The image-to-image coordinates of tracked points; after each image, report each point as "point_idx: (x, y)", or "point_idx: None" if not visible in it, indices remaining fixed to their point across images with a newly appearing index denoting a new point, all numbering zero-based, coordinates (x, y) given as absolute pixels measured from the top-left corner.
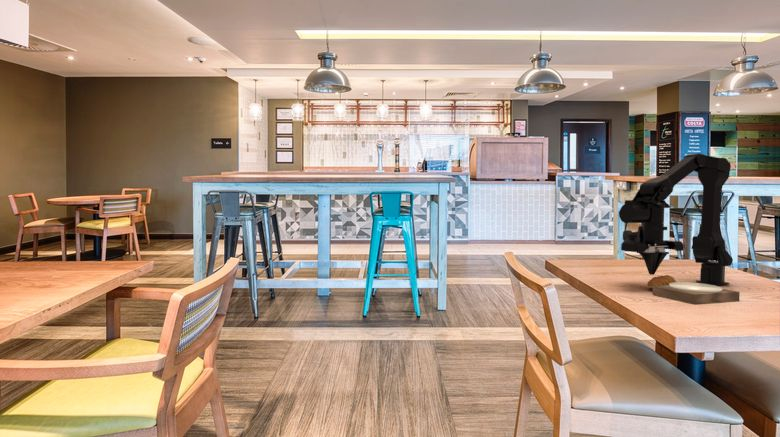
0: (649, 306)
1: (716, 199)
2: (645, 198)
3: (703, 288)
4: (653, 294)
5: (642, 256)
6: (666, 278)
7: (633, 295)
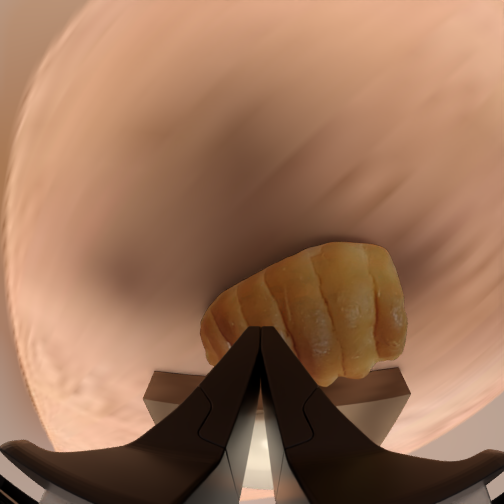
0: (74, 422)
1: None
2: None
3: (255, 481)
4: (155, 376)
5: (127, 447)
6: (316, 379)
7: (80, 348)
